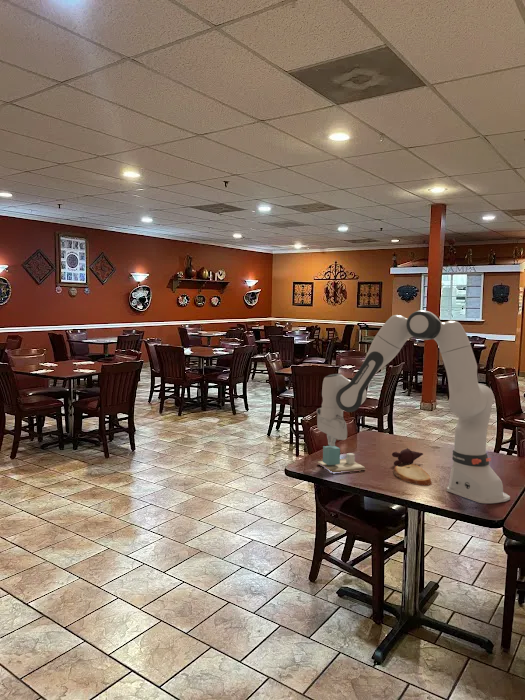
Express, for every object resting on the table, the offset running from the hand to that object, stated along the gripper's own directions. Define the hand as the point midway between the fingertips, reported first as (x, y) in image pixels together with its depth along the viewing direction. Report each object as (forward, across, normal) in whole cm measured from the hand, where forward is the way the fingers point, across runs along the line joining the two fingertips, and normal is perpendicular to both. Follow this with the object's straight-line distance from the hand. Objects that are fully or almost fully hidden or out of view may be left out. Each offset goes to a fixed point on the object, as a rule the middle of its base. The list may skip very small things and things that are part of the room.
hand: (331, 445), depth 227 cm
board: (+10, 0, -4) cm, 11 cm away
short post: (+8, 0, -9) cm, 12 cm away
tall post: (+8, 0, 0) cm, 8 cm away
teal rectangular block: (+7, 0, 0) cm, 7 cm away
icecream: (+10, -4, -35) cm, 36 cm away
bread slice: (+10, -20, -27) cm, 35 cm away
